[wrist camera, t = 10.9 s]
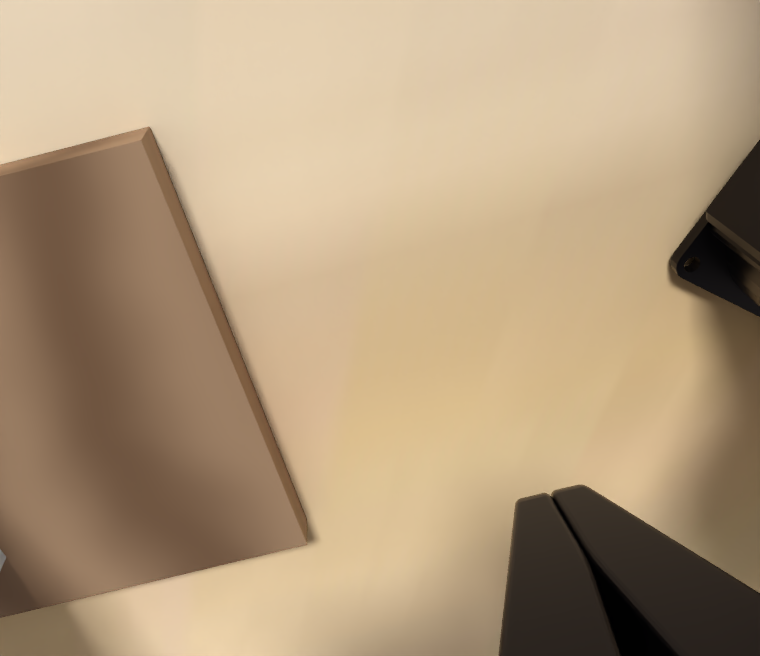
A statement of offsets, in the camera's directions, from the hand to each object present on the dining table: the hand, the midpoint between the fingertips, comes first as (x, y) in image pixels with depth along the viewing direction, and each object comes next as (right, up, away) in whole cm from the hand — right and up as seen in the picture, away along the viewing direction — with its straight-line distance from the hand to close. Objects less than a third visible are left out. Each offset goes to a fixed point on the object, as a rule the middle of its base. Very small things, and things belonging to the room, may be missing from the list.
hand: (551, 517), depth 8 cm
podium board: (-16, -1, +14) cm, 21 cm away
